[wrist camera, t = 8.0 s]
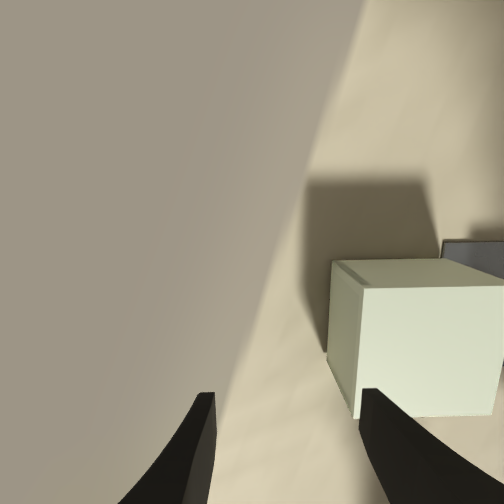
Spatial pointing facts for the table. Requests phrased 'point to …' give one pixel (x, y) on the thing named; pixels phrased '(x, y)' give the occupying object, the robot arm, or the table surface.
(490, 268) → the seat
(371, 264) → the block
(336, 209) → the table surface
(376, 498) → the table surface
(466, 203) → the table surface
